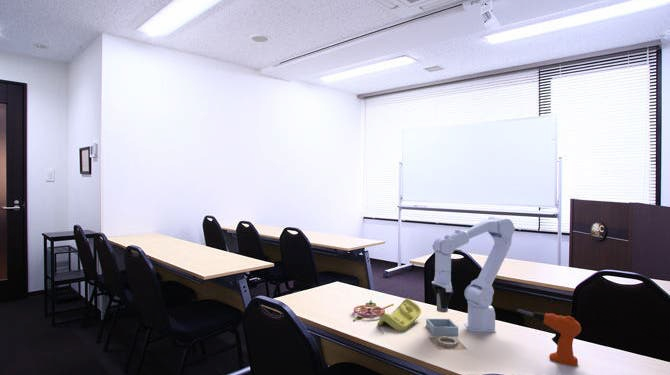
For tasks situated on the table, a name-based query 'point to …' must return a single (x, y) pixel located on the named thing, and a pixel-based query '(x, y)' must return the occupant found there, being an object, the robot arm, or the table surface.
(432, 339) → the socket plate
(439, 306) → the cylinder with rectangular bar
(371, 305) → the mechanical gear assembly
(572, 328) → the toy drill
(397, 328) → the plastic component
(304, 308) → the table surface
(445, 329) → the bin
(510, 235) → the robot arm
